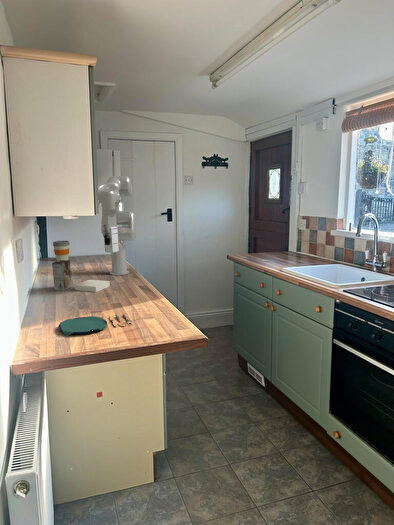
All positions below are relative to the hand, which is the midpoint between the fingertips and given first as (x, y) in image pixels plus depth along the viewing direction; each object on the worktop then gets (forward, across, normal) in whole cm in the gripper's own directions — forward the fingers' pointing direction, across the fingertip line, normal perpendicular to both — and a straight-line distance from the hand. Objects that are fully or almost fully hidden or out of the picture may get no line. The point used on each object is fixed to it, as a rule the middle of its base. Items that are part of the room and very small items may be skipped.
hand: (110, 243), depth 238 cm
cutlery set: (+26, +63, +29) cm, 74 cm away
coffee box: (+26, +12, -26) cm, 38 cm away
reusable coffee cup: (+26, -65, -86) cm, 111 cm away
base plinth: (+25, +7, -9) cm, 28 cm away
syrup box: (+5, 0, +1) cm, 5 cm away
